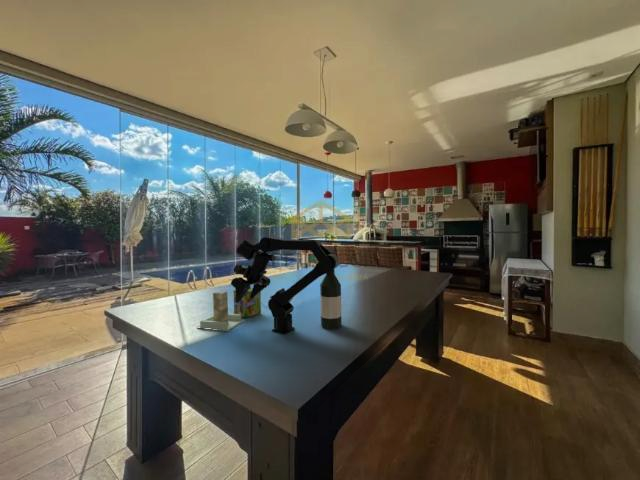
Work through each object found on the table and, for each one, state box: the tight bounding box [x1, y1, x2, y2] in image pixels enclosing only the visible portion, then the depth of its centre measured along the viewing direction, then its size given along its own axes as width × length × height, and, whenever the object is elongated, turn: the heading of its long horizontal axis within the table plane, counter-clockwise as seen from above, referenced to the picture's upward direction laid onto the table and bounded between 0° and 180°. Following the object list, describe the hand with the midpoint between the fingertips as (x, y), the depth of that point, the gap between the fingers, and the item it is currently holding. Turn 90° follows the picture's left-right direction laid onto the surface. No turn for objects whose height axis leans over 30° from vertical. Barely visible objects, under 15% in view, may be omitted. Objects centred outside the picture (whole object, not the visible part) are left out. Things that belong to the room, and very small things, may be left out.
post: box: [212, 290, 229, 323], centre depth 114 cm, size 4×4×13 cm
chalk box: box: [233, 286, 262, 319], centre depth 128 cm, size 9×9×15 cm
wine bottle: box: [319, 250, 342, 330], centre depth 110 cm, size 8×8×30 cm
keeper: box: [197, 313, 245, 332], centre depth 114 cm, size 14×12×3 cm
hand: (244, 300), depth 111 cm, fingers open, 9 cm apart
